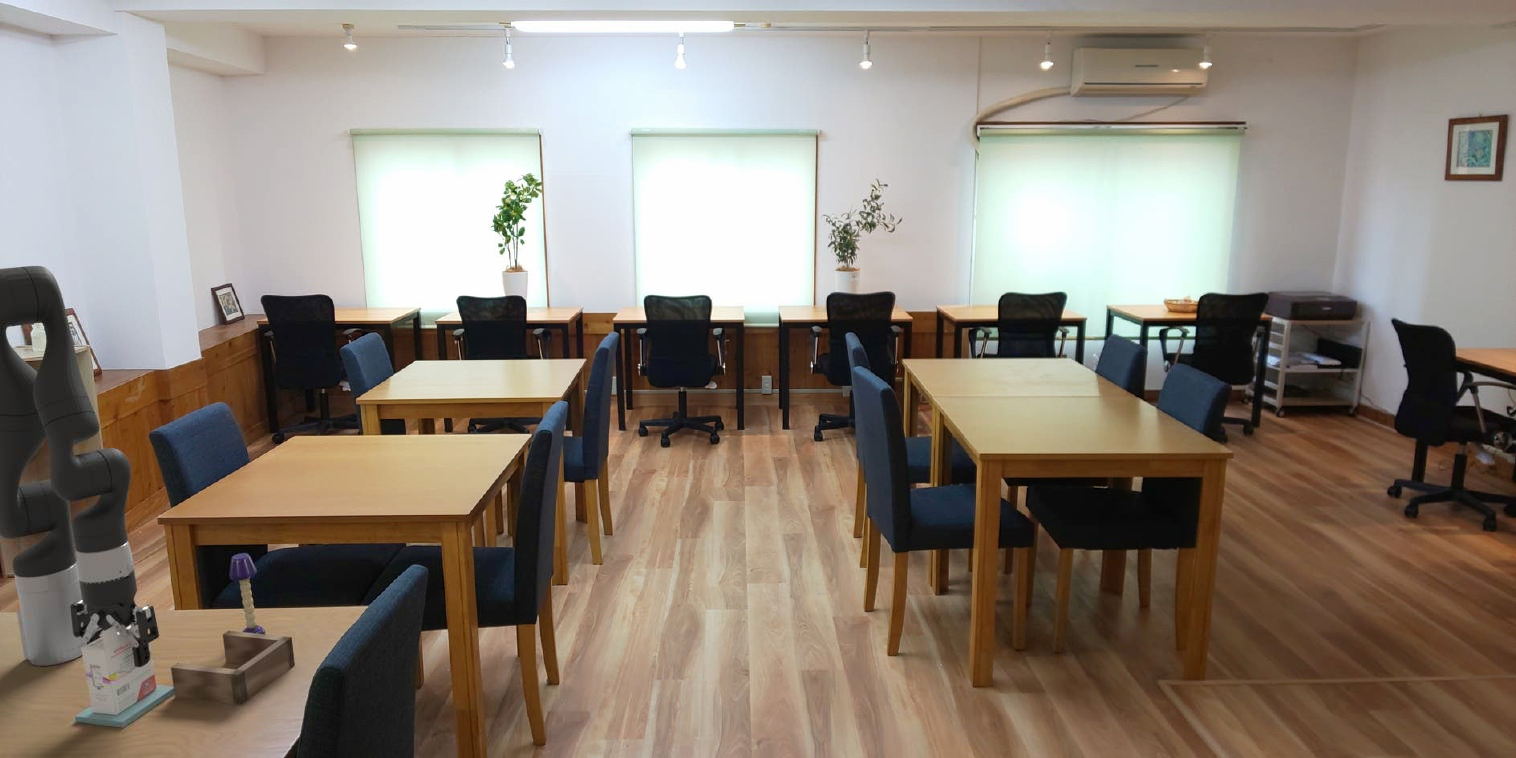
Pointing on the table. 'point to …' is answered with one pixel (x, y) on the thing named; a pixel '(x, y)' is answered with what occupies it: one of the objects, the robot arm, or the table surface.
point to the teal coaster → (130, 712)
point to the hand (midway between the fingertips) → (120, 662)
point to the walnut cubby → (260, 668)
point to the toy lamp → (245, 588)
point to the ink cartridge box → (115, 673)
